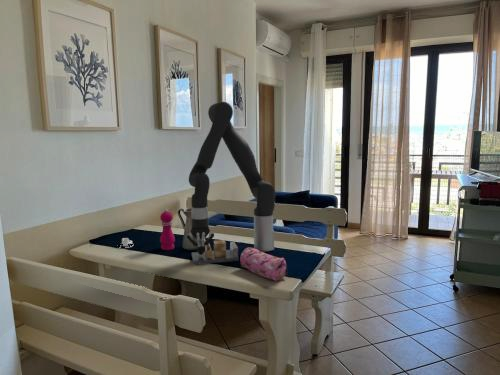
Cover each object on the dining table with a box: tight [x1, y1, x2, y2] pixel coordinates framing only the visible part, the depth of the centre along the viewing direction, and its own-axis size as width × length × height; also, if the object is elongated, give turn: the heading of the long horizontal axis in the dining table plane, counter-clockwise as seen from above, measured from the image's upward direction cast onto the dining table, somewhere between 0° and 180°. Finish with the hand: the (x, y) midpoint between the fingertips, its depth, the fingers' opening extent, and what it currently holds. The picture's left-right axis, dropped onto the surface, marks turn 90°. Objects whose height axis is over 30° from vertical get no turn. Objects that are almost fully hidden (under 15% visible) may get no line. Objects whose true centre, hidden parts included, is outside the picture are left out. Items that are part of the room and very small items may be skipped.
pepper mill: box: [159, 208, 176, 251], centre depth 181 cm, size 7×7×20 cm
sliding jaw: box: [204, 243, 213, 259], centre depth 167 cm, size 2×10×5 cm, turn 12°
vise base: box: [191, 241, 240, 265], centre depth 168 cm, size 20×12×6 cm, turn 102°
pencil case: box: [239, 246, 289, 282], centre depth 149 cm, size 21×9×9 cm, turn 42°
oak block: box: [213, 239, 227, 257], centre depth 168 cm, size 5×5×6 cm
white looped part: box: [118, 237, 134, 249], centre depth 188 cm, size 9×8×4 cm
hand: (200, 254), depth 166 cm, fingers closed
